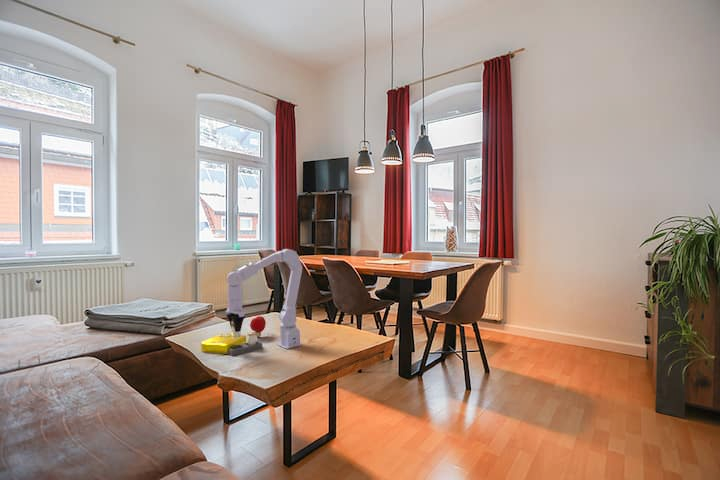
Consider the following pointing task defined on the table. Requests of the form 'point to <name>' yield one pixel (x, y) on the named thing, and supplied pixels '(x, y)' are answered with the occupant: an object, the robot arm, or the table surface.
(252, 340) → the cylinder
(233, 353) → the fuse block
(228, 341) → the element tile
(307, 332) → the table surface
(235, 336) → the fuse
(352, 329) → the table surface
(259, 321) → the light bulb
